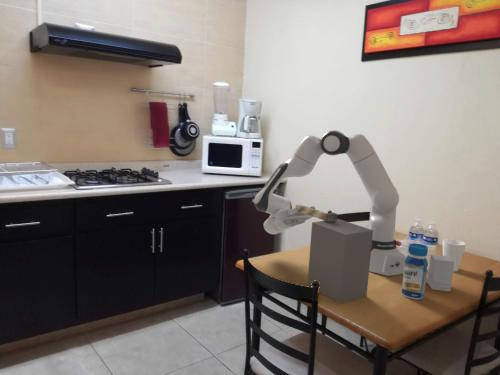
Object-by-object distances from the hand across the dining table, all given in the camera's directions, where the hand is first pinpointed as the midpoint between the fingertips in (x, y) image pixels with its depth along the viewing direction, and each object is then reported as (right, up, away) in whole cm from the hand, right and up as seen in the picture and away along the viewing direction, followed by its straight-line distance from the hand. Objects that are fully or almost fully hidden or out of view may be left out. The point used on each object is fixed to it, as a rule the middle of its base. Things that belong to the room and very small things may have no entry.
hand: (305, 209), depth 166 cm
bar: (+3, -3, -4) cm, 6 cm away
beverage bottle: (+39, -33, -15) cm, 53 cm away
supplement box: (+54, -32, -5) cm, 63 cm away
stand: (+10, -31, -13) cm, 35 cm away
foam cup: (+70, -29, +16) cm, 77 cm away
